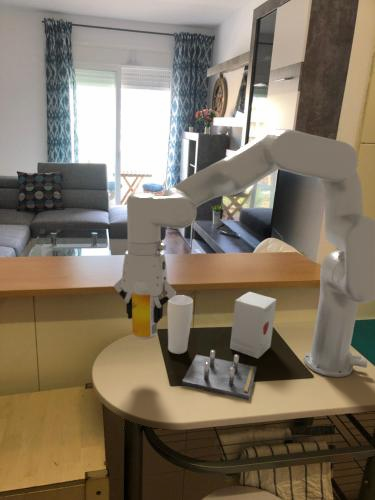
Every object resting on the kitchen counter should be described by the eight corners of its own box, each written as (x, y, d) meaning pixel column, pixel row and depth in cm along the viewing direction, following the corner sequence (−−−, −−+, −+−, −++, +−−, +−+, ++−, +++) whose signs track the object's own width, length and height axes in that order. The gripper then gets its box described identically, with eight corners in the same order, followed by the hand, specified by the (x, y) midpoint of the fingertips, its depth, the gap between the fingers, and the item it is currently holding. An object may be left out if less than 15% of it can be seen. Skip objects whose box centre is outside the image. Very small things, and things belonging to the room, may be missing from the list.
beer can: (141, 326, 107) (140, 271, 102) (161, 332, 104) (162, 275, 100) (127, 336, 101) (126, 278, 97) (149, 342, 99) (149, 283, 95)
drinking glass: (193, 347, 117) (197, 298, 113) (183, 358, 111) (186, 306, 107) (172, 341, 120) (174, 292, 116) (160, 352, 114) (163, 301, 110)
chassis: (256, 370, 108) (258, 352, 106) (248, 400, 96) (251, 380, 94) (196, 358, 112) (197, 341, 110) (182, 385, 100) (183, 366, 98)
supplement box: (258, 359, 113) (264, 308, 109) (229, 349, 118) (233, 299, 114) (271, 346, 121) (277, 298, 116) (243, 337, 125) (248, 290, 121)
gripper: (184, 246, 98) (183, 317, 103) (116, 239, 102) (118, 307, 107) (175, 255, 91) (173, 331, 96) (102, 247, 95) (105, 320, 100)
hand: (144, 318), depth 101 cm, fingers closed on beer can, 6 cm apart
